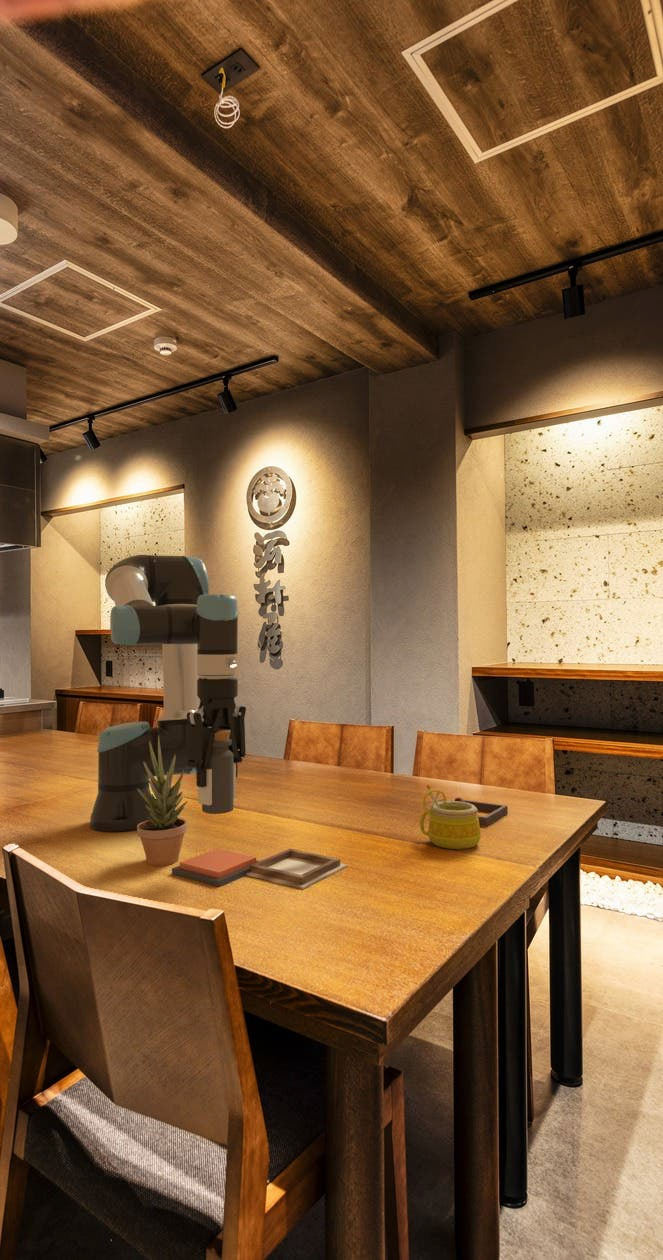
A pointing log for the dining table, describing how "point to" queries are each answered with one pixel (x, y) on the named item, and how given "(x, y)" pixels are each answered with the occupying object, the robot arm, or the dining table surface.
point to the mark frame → (296, 868)
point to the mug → (451, 823)
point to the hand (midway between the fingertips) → (217, 799)
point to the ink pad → (215, 867)
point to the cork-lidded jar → (221, 775)
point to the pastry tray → (496, 810)
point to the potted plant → (162, 816)
